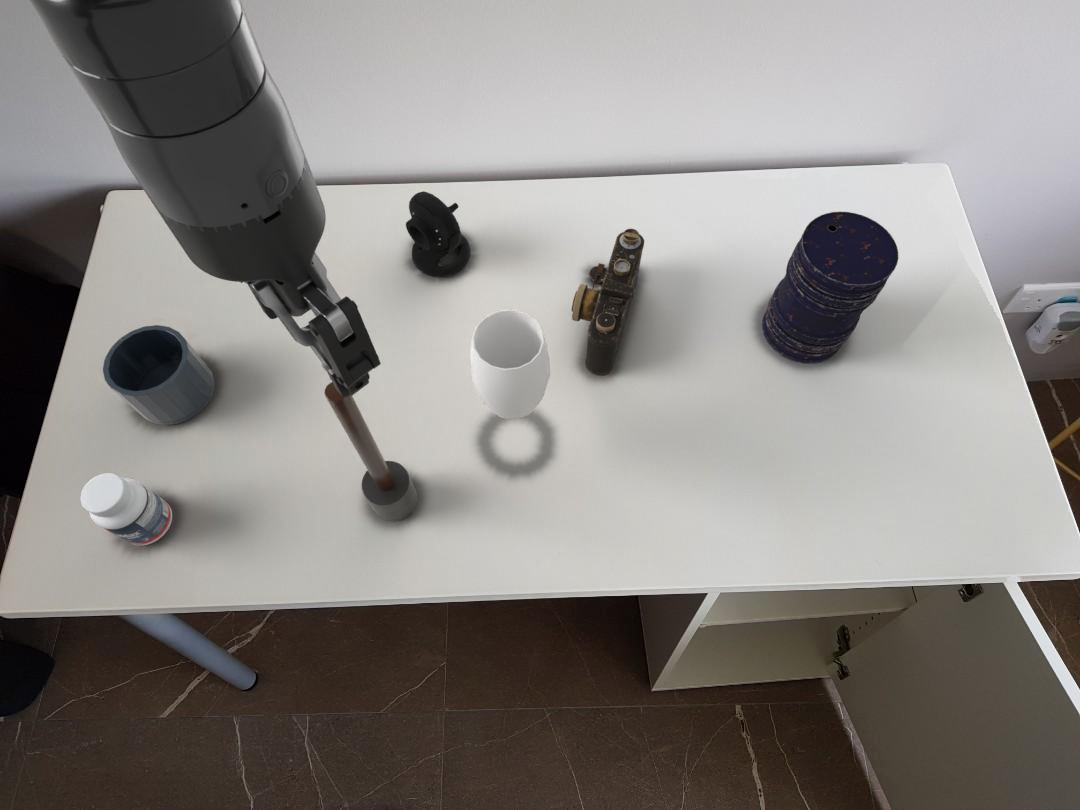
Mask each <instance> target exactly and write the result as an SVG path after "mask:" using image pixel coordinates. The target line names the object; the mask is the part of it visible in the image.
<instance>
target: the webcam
mask: <svg viewBox="0 0 1080 810" xmlns="http://www.w3.org/2000/svg"><path fill="white" fill-rule="evenodd" d="M458 208H459V204H458V203H457V202H454V203H452V204H450V205H449V206H448V205H447V204H446V203H445V202H444V201H443V200H442V199H440V198H439V197H437V196H435V194H433V193H430V192H427V191H424V190H423V191H419V192H417V193H415V194H414V195H413V196H412V197H411V198H410V200H409V202H408V209H409V214H410V216H411V217H410V219H408V220H407V221H406V222H405V228H406V231H407V233H408V235H409V236H410V238H411V239H412V240H413V244H412V247H411V260H412V262H413V264H414V266H415V267H416V269H418V271H420V272H421V273H423V274H425V275H427V276H429V277H437V278H439V277H440V278H441V277H450V276H452V275H455V274H457V273H458V272H460V271H462V270H463V269H464V268H465V267H466V265H467V264H468V263H469V260H470V257H471V246H470V243H469V241H468V239H467V238H466V237H465V236H464V235H463V234H462V232H461V231H462V230H461V227H460V225H459V222H458V220H457V219H456V216H455V215H454V214H453V213H454V212H455V211H456V210H458ZM455 249H458V255H457V256H456V258H455V259H454V260H452V261H451V262H449V263H446V264H440V262H441V261H442V259H444V258H445V256H447V255H448V254H449V253H450V252H452V251H454V250H455Z"/></svg>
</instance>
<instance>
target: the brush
mask: <svg viewBox="0 0 1080 810" xmlns="http://www.w3.org/2000/svg"><path fill="white" fill-rule="evenodd" d="M323 393H324V397H325V398H326V400H327V402H328V403H329V405H330V408H331V409H332V410H333V413H334V414H335V415H336V417H337V420H338V421H339V423H340V425H341V426H342V428H343V430H344V432H345V433H346V435H347V437H348V438H349V441H350V442H351V444H352V446H353V448H354V449H355V451H356V452H357V454H358V456H359V458H360V459H361V461H362V463H363V465H364V466H365V469H366V471H365V473H364V475H363V477H362V480H361V492H362V494H363V496H364V497H365V499H366V501H367V502H368V504H369V505H370V507H371V509H372V511H373V512H374V513H375V515H376V516H378V518H380V519H382V520H384V521H388V522H397V521H401V520H404V519H405V518H407V517H408V516H409V515H411V514H412V512H413V511H415V509H416V506H417V502H418V494H417V490H416V487H415V486H414V483H413V482H412V479H411V477H410V475H409V472H408V471H407V469H406V468H405V466H403V465H402V464H401V463H399V462H397V461H394V460H385V458H384V456H383V454H382V452H381V450H380V448H379V447H378V444H377V442H376V440H375V438H374V436H373V435H372V432H371V431H370V428H369V427H368V425H367V423H366V420H365V419H364V416H363V415H362V412H361V410H360V408H359V406H358V404H357V403H356V400H355V398H354V397H353V396H354V395H352V396H351V395H349V396H347V397H343V396H342V395H341V394H340V393H339V392H338V391H337V390H336V388H335V386H334V384H333V382H332V381H331V382H329V383H328V384H327V385H326V386H325V388H324V392H323Z"/></svg>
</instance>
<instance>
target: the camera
mask: <svg viewBox="0 0 1080 810" xmlns="http://www.w3.org/2000/svg"><path fill="white" fill-rule="evenodd" d="M644 246H645V239H644V237H643V236H642V235H641V234H640V233H639V231H638V230H637V229H635V228H627V229H625V230H624V231H622V232H620V233H619V234H618V235H617V236H616V239H615V241H614V245H613V248H612V252H611V255H610V259H609V262H608V264H607V268H606V267H605V264H604V263H598V265H596V266H593V267H592V268H590V270H589V272H588V277H589V280H590V281H591V283H593V284H592V288H589V287H588V284H586V283H580V284H579V285H578V288H577V290H576V291H575V293H574V296H573V300H572V304H571V312H572V313H571V321H574V322H580V321H581V320H583V321H587V322H590V323H589V327H588V331H587V345H586V352H585V353H586V355H585V362H584V365H585V368H586V370H587V371H588V372H589V373H590V374H592V375H594V376H605V375H608V374H610V373H611V372H612V370H613V368H614V365H615V362H616V357H617V354H618V351H619V348H620V347H619V346H620V343H621V340H622V336H623V334H624V333H623V332H624V329H625V325H626V322H627V319H628V314H629V311H630V307H631V303H632V300H633V298H634V295H635V291H636V286H637V283H638V278H639V272H640V266H641V261H642V255H643V250H644ZM595 285H601V286H598V289H594V288H595Z"/></svg>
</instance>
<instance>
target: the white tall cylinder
mask: <svg viewBox="0 0 1080 810" xmlns="http://www.w3.org/2000/svg"><path fill="white" fill-rule="evenodd" d="M469 357H470V358H469V359H470V369H471V376H472V377H471V379H472V384H473V387H474V389H475V390H476V392H477V394H478V395H479V398H480V399H481V401H482V402H483V404H484V405H485V407H487V409H488V410H490V412H491V413H493V414H494V415H496V416H497V417H499V418H502V419H506V420H510V421H511V420H521V419H523V418H524V417H527V416H529V415H532V413H533V412H534V411H535V409H536V408H537V407H538V406H539V404H540V403H541V402H542V401H543V399H544V395H545V393H546V389H547V386H548V383H549V381H550V377H551V365H550V355H549V346H548V342H547V340H546V336H545V333H544V329H543V328H542V326H541V325H540V323H539V322H538V321H537V319H536V318H534V317H533V316H532V315H530V314H528V313H526V312H525V311H521V310H520V311H519V310H515V309H513V308H512V309H504V310H497V311H494V312H492V313H489V314H487V315H486V316H484V317H483V319H481V320H480V321H479V323H478V324H477V325H476V326H475V328H474V330H473V333H472V336H471V341H470V350H469Z"/></svg>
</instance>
